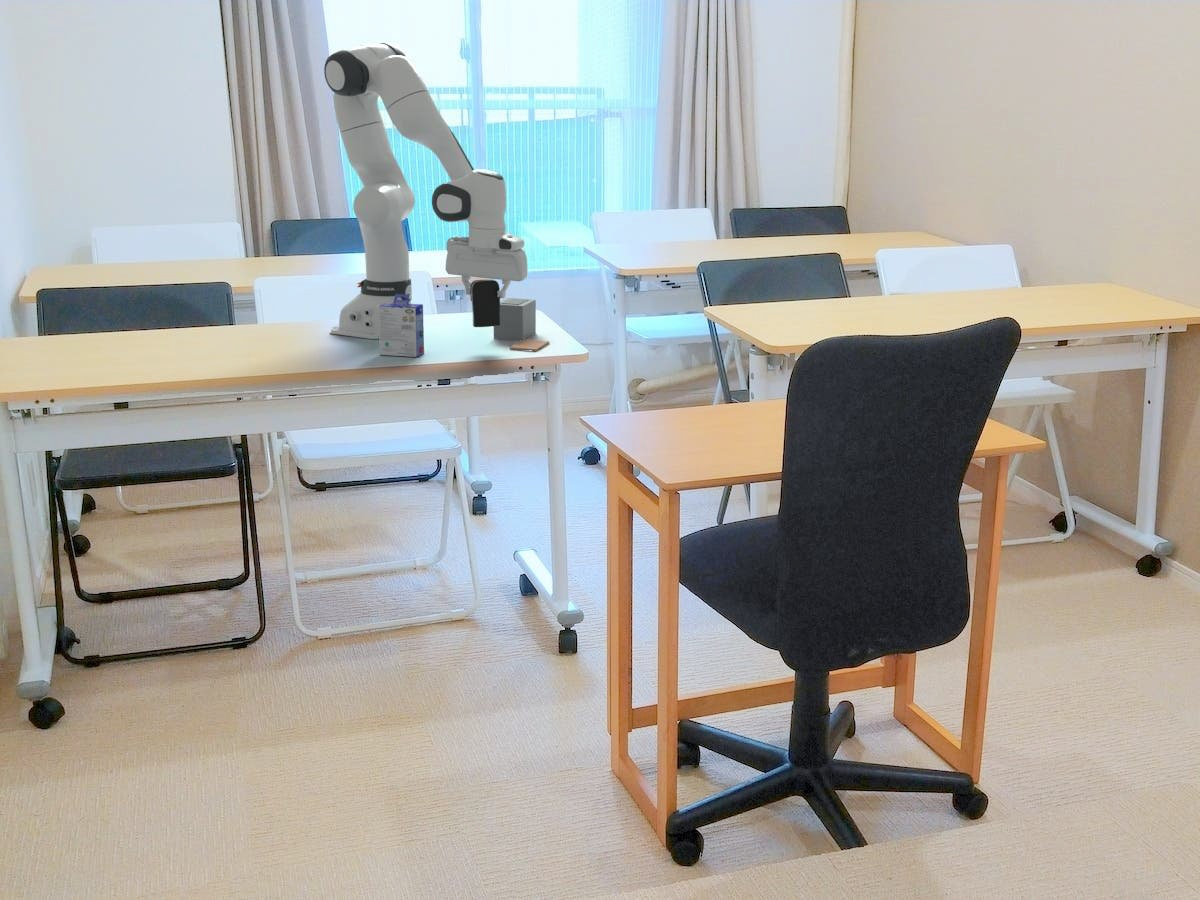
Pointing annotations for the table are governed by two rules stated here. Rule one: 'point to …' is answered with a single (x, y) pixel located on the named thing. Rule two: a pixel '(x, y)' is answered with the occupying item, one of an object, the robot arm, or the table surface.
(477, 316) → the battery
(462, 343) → the table surface
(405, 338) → the ink cartridge box
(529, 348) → the mat
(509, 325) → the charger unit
